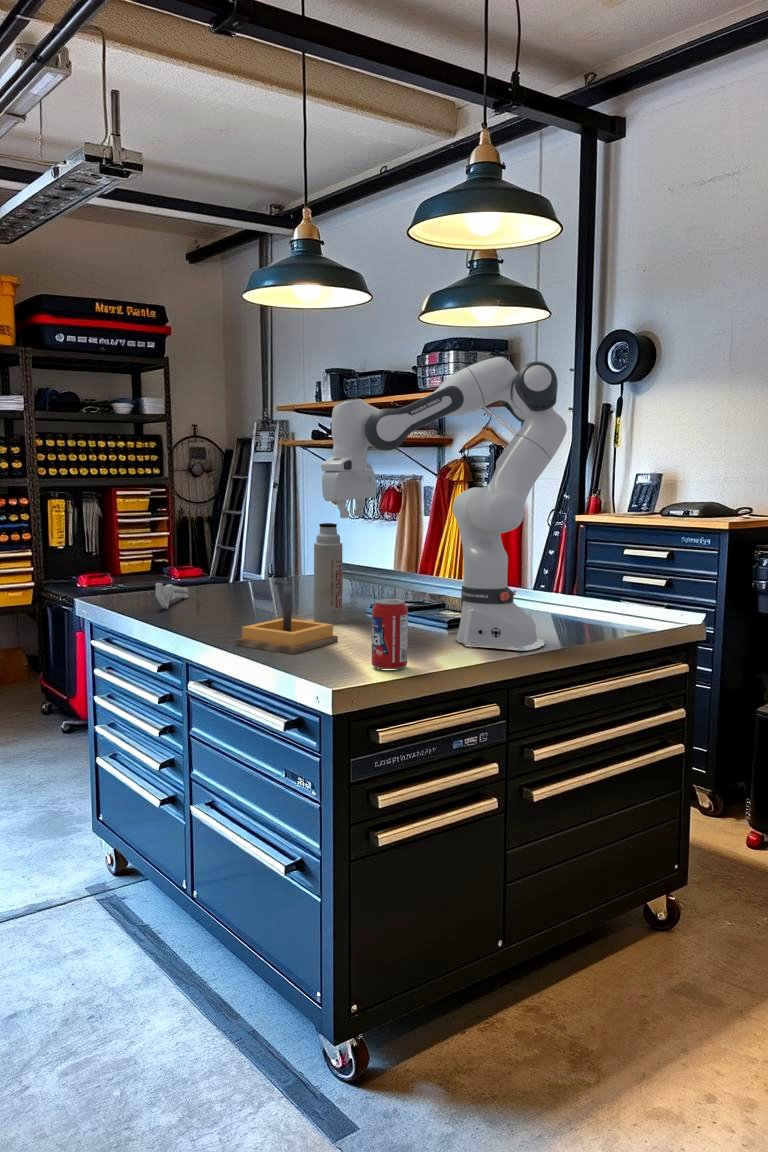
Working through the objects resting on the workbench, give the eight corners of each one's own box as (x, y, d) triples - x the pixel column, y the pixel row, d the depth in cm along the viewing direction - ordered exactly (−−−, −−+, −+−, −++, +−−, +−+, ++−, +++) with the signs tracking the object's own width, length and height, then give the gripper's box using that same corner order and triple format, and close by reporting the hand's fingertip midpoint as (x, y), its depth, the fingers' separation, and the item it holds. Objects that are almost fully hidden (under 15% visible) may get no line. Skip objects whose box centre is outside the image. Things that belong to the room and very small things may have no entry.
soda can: (408, 672, 192) (409, 603, 190) (372, 672, 191) (372, 603, 189) (405, 664, 199) (406, 598, 198) (370, 664, 199) (371, 598, 197)
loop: (332, 636, 223) (332, 624, 223) (293, 646, 210) (293, 634, 209) (283, 629, 232) (283, 617, 231) (242, 639, 218) (241, 627, 218)
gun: (154, 608, 264) (155, 582, 265) (183, 610, 294) (183, 586, 295) (160, 608, 264) (161, 582, 265) (188, 610, 294) (189, 586, 294)
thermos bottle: (347, 622, 251) (348, 523, 248) (324, 625, 246) (325, 524, 243) (331, 618, 257) (331, 522, 254) (308, 621, 252) (308, 523, 249)
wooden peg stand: (337, 641, 223) (337, 581, 221) (293, 654, 208) (293, 589, 206) (281, 634, 233) (281, 575, 231) (235, 645, 218) (234, 582, 216)
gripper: (361, 462, 238) (363, 514, 239) (316, 464, 220) (318, 519, 222) (381, 462, 234) (383, 514, 236) (337, 463, 217) (339, 520, 219)
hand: (351, 517), depth 229 cm, fingers open, 5 cm apart
